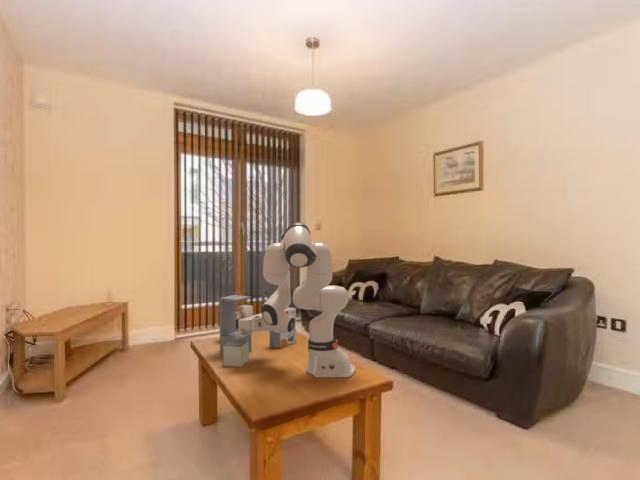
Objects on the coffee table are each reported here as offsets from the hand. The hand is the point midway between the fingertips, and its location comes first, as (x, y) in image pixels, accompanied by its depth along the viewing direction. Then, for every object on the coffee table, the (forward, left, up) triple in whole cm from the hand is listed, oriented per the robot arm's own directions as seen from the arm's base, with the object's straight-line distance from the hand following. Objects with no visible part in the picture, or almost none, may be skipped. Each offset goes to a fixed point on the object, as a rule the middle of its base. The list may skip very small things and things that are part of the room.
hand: (244, 318), depth 183 cm
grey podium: (+9, -7, -20) cm, 23 cm away
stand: (+1, +7, -20) cm, 22 cm away
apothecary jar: (+20, -28, -21) cm, 40 cm away
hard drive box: (-12, -26, -21) cm, 35 cm away
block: (-1, 0, -8) cm, 8 cm away
